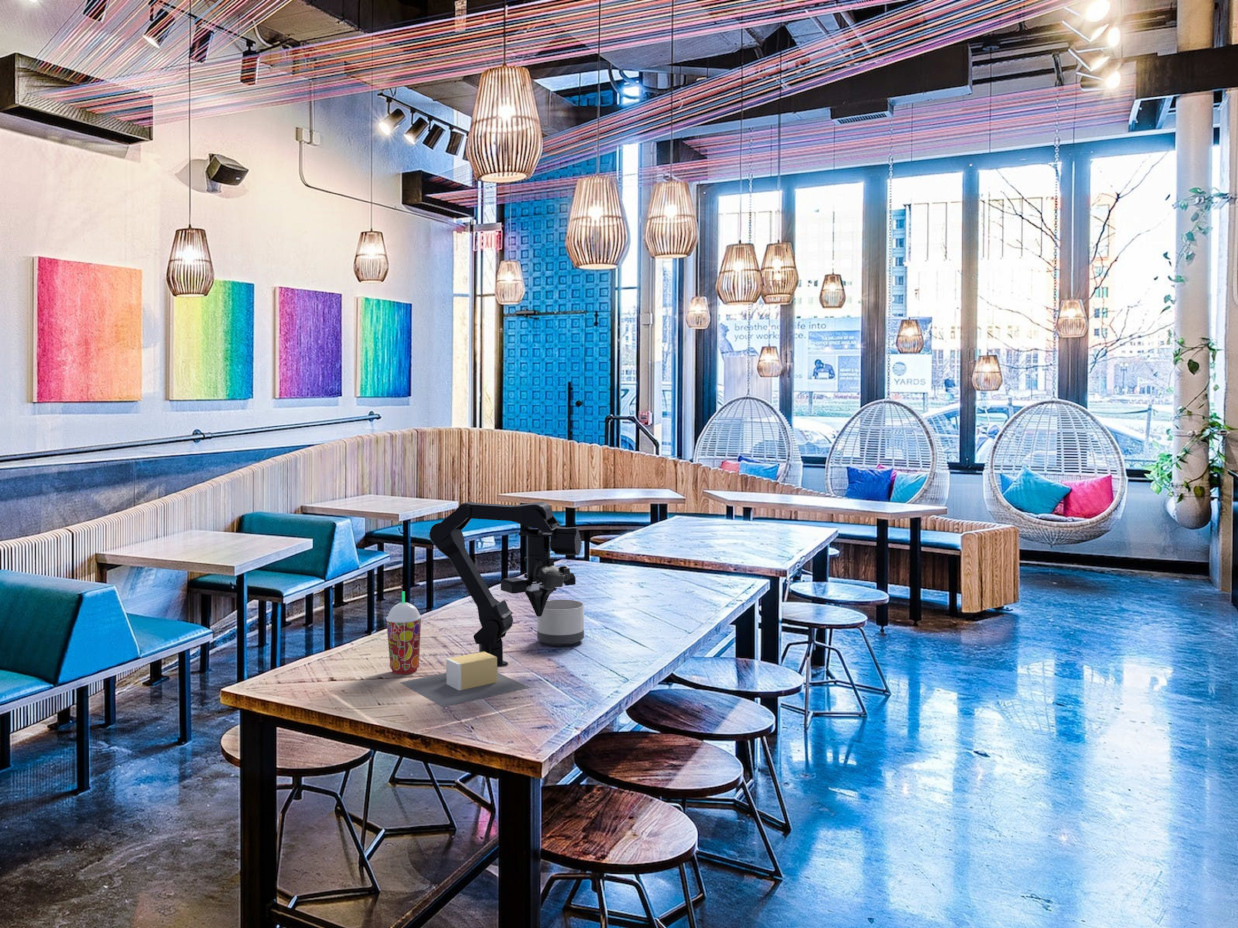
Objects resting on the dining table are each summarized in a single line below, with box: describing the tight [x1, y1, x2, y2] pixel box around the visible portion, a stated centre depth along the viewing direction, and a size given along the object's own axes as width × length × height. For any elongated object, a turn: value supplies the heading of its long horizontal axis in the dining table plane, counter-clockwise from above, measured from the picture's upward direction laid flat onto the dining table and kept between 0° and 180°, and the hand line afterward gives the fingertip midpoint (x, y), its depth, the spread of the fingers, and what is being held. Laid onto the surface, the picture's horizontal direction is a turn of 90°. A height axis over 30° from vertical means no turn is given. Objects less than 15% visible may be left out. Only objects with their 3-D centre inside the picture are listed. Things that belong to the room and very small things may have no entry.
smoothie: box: [385, 591, 422, 675], centre depth 226 cm, size 8×8×20 cm
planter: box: [536, 598, 585, 647], centre depth 254 cm, size 13×13×10 cm
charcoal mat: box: [399, 671, 531, 708], centre depth 215 cm, size 22×22×1 cm
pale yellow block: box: [445, 651, 498, 690], centre depth 216 cm, size 6×6×10 cm
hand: (538, 616), depth 229 cm, fingers closed
